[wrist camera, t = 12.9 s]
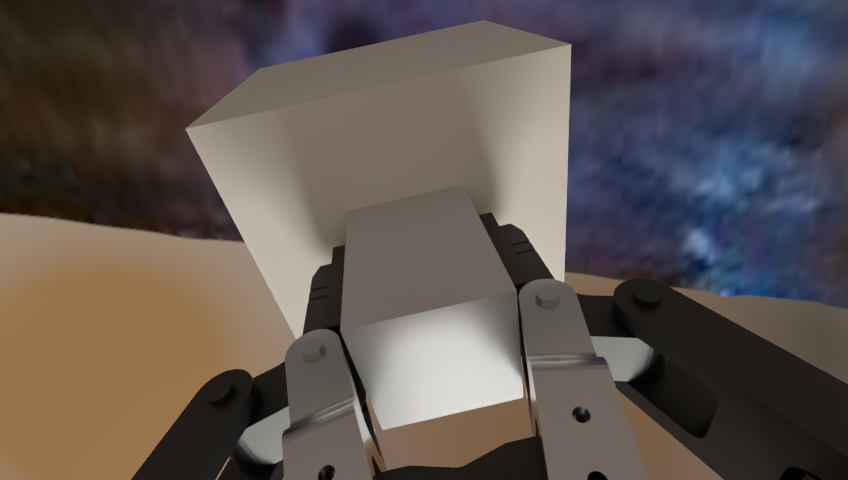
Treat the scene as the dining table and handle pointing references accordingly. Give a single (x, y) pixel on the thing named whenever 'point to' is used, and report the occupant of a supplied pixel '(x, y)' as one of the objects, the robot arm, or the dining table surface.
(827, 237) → the dining table surface
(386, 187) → the cream open-backed crate
